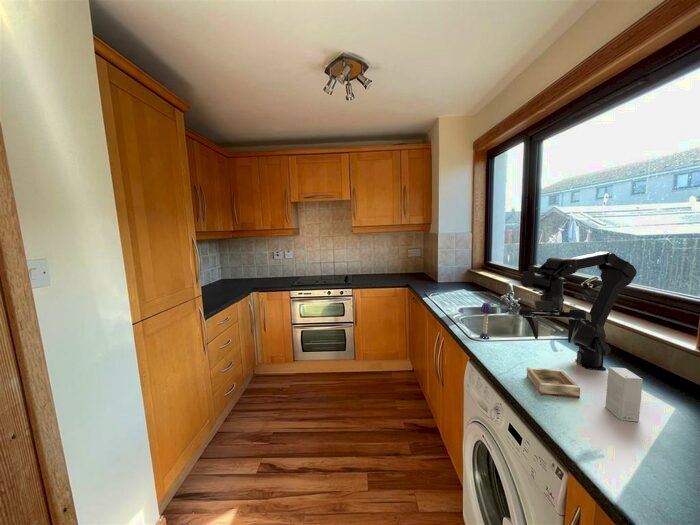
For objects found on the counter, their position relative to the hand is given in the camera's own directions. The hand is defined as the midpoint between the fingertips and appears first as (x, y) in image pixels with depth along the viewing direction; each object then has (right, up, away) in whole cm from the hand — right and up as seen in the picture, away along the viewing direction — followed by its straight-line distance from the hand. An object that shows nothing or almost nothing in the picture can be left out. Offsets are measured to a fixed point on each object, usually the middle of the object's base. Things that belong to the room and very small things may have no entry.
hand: (552, 340), depth 89 cm
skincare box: (+8, -16, -14) cm, 23 cm away
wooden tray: (-1, -15, -1) cm, 15 cm away
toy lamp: (-2, -10, +39) cm, 40 cm away
